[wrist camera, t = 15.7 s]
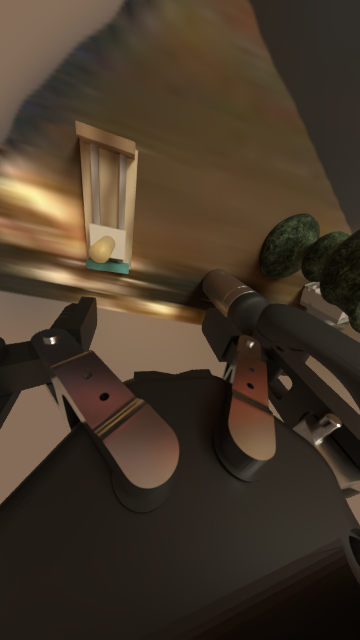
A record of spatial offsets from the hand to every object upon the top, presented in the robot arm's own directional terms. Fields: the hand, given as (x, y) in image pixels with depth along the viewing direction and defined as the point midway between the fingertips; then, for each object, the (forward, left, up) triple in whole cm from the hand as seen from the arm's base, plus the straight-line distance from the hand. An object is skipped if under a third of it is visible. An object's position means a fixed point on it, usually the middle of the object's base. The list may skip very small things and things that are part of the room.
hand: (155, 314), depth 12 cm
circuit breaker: (-66, +9, -36) cm, 76 cm away
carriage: (+7, +1, -33) cm, 34 cm away
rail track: (+7, -4, -36) cm, 37 cm away
